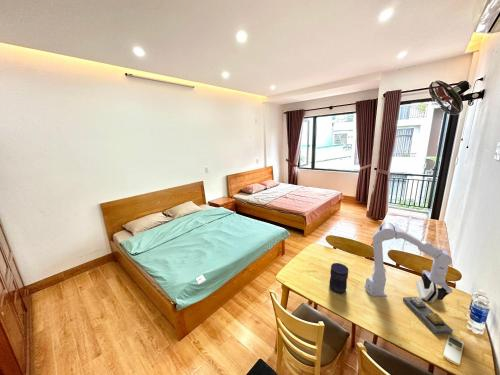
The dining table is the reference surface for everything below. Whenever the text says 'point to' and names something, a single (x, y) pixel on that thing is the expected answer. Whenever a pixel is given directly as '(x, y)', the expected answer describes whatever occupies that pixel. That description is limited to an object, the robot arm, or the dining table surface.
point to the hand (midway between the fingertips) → (432, 293)
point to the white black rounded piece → (427, 291)
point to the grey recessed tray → (423, 315)
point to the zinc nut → (418, 303)
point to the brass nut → (435, 319)
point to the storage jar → (338, 278)
